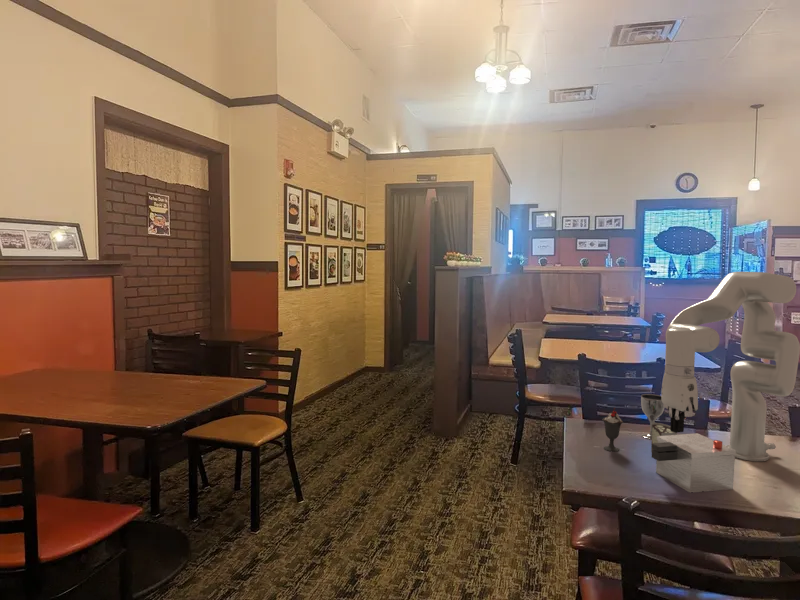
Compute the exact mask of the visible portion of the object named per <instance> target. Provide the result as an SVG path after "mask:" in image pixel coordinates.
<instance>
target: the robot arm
mask: <svg viewBox="0 0 800 600" xmlns="http://www.w3.org/2000/svg"><path fill="white" fill-rule="evenodd" d="M796 293H797V284H796V281H794V279H793V278H792V277H790V276H789V275H788V276H786V275H781V274H777V273H771V272H763V271H762V272H761V271H734V272H733V271H732V272H730V273H728V274H726V276H724V277H723V279H722V280H721V281H720V283H718V285H717V286H716V287H715V288H714V290H713V291H712V293H710V294H709V296H708V297H707V299H705V300H703V301H700V302H697V303H695V304H693V305H691V306H688V307H687V308H685V309H683V310H682V311H680V312H679V313H678V314H677V315H676V316H675V317H674V318H673V319H672V321H671V322H670V324H669V325H668V327H666V328H667V329H666V331H665V358H664V359H665V361H664V363H665V364H664V374H663V378H662V383H661V393H660V396H661V399H662V402H663V403H664V409H667V411H668V415H669V417H670V425H669V426H670V430H671V431H673V432H675V433H677V434H678V433H684V428H685V420H686V419H687V417H688V418H690V417H693V416H694V412H696V411H697V410H698V409H699V407H698V406H699V391H698V382H697V377H695V364H696V363H695V360H696V358H695V357H696V356H695V355H696V353H709V352H712V351H714V350H716V349H717V348H718V347H719V345H720V340H721V339H720V334H719V333H718V331H717V330H715V329H714V328H712V327H709V326H704V324H705V325H706V324H710V323H716V322H721V321H722V322H723V321H726V320H728V319H731V318H732V317H733V316H734V315H735V314H736V313H737V312H738V310H739V309H740V307H742V308H743V312H744V318H743V326H742V332H741V338H740V339H741V340H740V352H742V354H743V355H745V356H748V357H751V358H757V359H761V360H762V359H763V360H769V361H775V364H771V363H766V362H758V361H753V360H740V361H739V360H738V361H737V362H735V363H734V364H733V365H732V367H731V369H730V380H731V381H730V382H731V388H732V389H731V390H732V398H731V399H732V402H731V415H730V416H731V417H730V436H729V444H727V445H726V446H727V447H730V448H732V449H734V450H736V454H734V455H735V458H737V459H740V460H744V461H749V462H767V461H768V460H769V459H770V454H769V453H768V452H767V451H768V450H776V448H777V447H776V444H775V443H773V442H771V443H770V442H769V443H766V442H765V436H766V422H767V421H766V420H767V419H766V418H767V411H768V409H767V408H768V407H767V401H766V399H765V398H764V396H763V394H767V395H771V396H776V397H787V396H789V395H791V394H792V393H793V391H794V388H795V386H796V380H797V373H798V368H799V361H800V359H799V358H800V341H799V339H798V337H797V335H795V334H794V333H790V332H788V331H780V330H779V331H778V330H775V325H776V318H777V316H776V313H775V310H774V308H773V307H772V305H770V303H775V304H786V303H790V302H791V301H792V300H793V299H794V298H795V296H796Z"/></svg>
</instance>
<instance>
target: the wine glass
mask: <svg viewBox="0 0 800 600" xmlns="http://www.w3.org/2000/svg"><path fill="white" fill-rule="evenodd" d="M640 396H641V397H640V403H641V405H640V406H641V409H642V412H643V413H644V414H645V416H646V417H647V419H648V421H649V424H650V426H649V427H650V429H649V433H642V435H641V434H640V437H641V436H642V437H641V438H643V437H644V438H643V439H645V438H647V439H646V440H649V439H650V440H649V441H652V428H651V426H652V422H654V423H656V422H655V421H656V420H657V419H658V418H659V417H660V416H662V414H663V413H664V411H665V407H664V403H663V402H662V399H661V394H660V395H659V394H654V393H652V394H651V393H644V394H641V395H640Z"/></svg>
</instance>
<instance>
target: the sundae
mask: <svg viewBox="0 0 800 600" xmlns="http://www.w3.org/2000/svg"><path fill="white" fill-rule="evenodd" d="M601 420H602V421H603V423H604V424H603V425H604V431H605V436H606V437H607V439H609V443H608V445H607V446H603V450H605V451H607V452H611V451H612V453H617V452H620V449H619V447H615V443H614V440H616V439H617V438H618V437H619V435H620V429H621V426H622V424H624V421H623V420H622V419H621V418H620V416H619V414H618V413H617V411H616V407H613V410H612V411H611V412H609V413H608V415H607V416H606V417H605V416H604V417H602V419H601Z"/></svg>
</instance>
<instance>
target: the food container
mask: <svg viewBox="0 0 800 600" xmlns="http://www.w3.org/2000/svg"><path fill="white" fill-rule="evenodd" d="M670 426H671V425H670V424H669V425H668V424H664V423H661V422H652V426H651V428H652V440H651V448H650V449H651V450H650V452H651V453H652V443H658V440H657V436H667V435H678V433H675V432H673V431H671V430H670Z"/></svg>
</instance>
